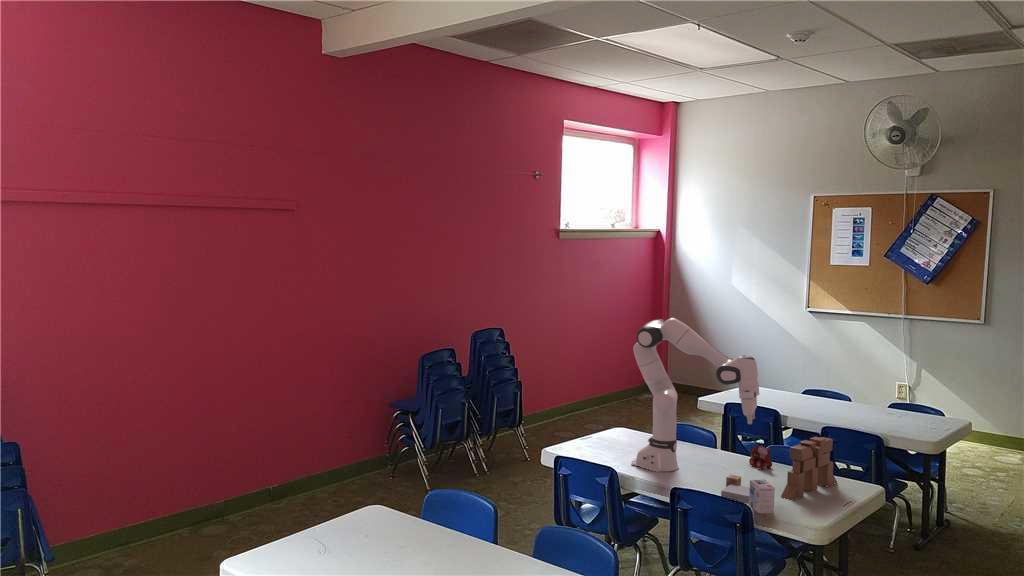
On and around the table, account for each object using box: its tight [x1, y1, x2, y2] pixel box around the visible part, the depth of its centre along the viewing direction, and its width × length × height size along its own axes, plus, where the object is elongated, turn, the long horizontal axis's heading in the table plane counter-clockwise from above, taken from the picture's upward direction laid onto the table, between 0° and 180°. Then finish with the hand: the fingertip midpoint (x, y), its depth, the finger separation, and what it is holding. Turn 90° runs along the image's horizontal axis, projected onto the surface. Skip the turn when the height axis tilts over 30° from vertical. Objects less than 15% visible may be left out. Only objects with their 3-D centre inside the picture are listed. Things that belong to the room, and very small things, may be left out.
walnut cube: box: [725, 474, 742, 488], centre depth 352 cm, size 5×5×5 cm
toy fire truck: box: [748, 444, 773, 470], centre depth 385 cm, size 7×12×10 cm, turn 22°
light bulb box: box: [748, 479, 776, 514], centre depth 324 cm, size 11×7×11 cm, turn 5°
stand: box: [720, 484, 750, 503], centre depth 341 cm, size 12×12×2 cm
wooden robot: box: [780, 436, 838, 501], centre depth 349 cm, size 40×8×23 cm, turn 132°
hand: (751, 421), depth 356 cm, fingers open, 8 cm apart
